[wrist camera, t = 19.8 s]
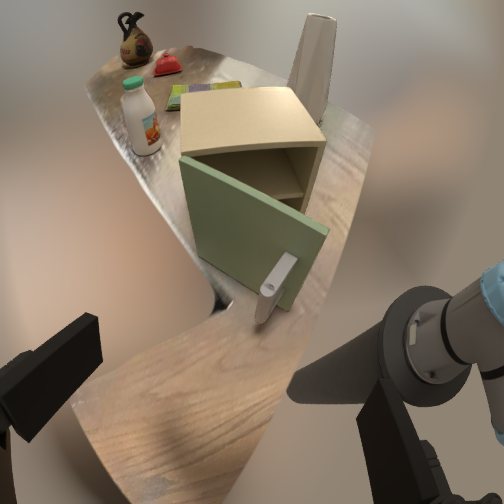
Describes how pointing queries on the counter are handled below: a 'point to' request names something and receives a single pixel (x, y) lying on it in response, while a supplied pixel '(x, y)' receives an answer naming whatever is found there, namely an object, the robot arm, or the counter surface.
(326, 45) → the tall faceted taper
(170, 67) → the butter dish
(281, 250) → the cupboard door
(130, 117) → the milk bottle
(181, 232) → the counter surface
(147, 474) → the counter surface
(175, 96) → the dish towel
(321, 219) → the counter surface
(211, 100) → the cupboard
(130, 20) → the ceramic jug
